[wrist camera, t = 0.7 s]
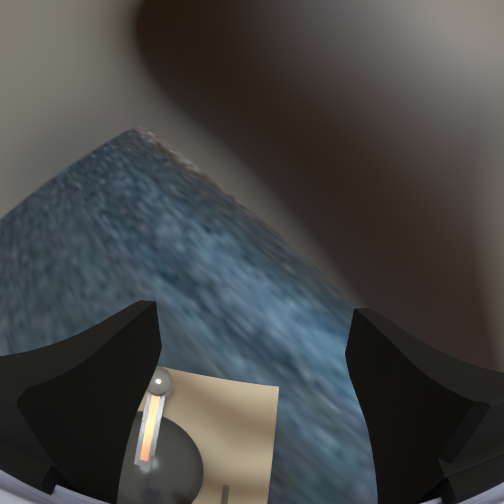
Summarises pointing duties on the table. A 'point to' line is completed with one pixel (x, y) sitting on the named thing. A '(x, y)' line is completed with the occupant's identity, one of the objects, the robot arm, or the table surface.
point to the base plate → (226, 434)
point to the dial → (159, 454)
